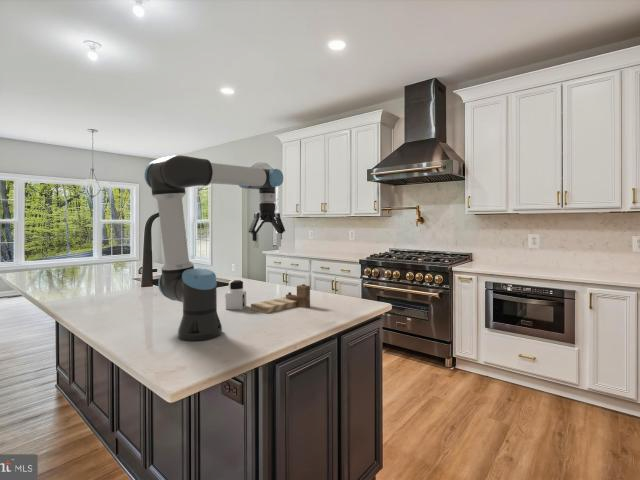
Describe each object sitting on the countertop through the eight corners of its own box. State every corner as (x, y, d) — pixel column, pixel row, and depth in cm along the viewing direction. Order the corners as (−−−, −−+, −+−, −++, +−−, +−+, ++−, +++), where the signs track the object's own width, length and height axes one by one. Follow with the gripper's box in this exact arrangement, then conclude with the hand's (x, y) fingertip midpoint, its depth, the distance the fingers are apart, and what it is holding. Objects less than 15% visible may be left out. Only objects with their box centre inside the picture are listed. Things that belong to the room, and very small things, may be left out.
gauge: (304, 308, 171) (304, 285, 171) (284, 303, 180) (284, 282, 180) (310, 306, 174) (310, 284, 174) (290, 302, 183) (290, 281, 183)
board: (265, 313, 161) (265, 308, 161) (250, 309, 169) (250, 304, 169) (306, 303, 180) (306, 298, 180) (291, 300, 188) (291, 295, 187)
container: (246, 306, 175) (246, 279, 174) (241, 310, 167) (241, 282, 167) (231, 305, 176) (230, 279, 175) (225, 309, 168) (225, 281, 167)
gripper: (250, 201, 160) (250, 249, 161) (292, 203, 178) (292, 246, 179) (240, 202, 165) (241, 248, 166) (282, 203, 183) (282, 245, 184)
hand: (267, 247), depth 173 cm, fingers open, 13 cm apart
